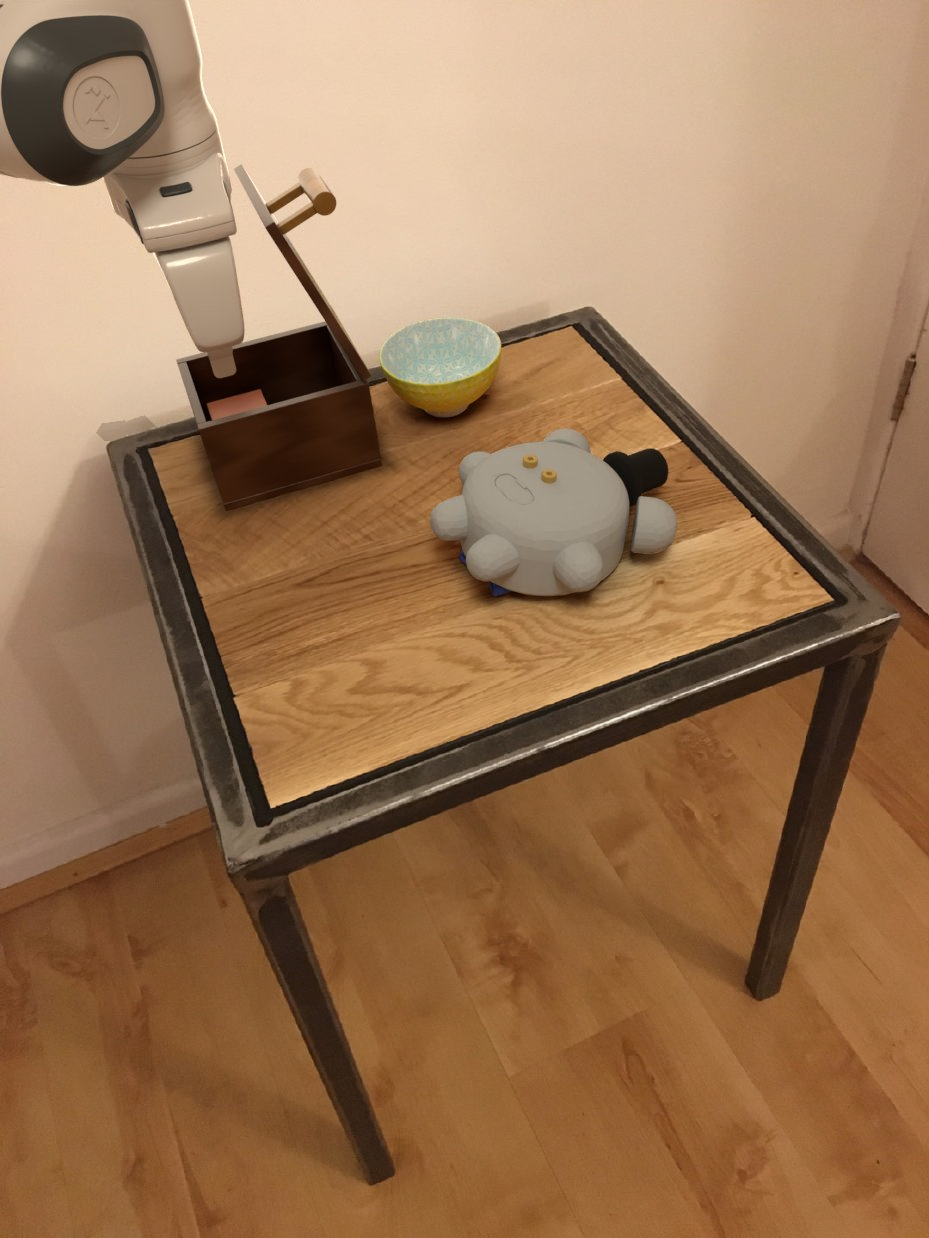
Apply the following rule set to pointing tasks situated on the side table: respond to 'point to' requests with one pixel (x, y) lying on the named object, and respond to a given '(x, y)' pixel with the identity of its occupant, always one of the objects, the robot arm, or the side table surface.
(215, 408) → the block
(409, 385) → the bowl
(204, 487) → the side table surface
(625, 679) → the side table surface
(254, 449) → the chest
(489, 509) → the figurine
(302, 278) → the lid
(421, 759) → the side table surface
